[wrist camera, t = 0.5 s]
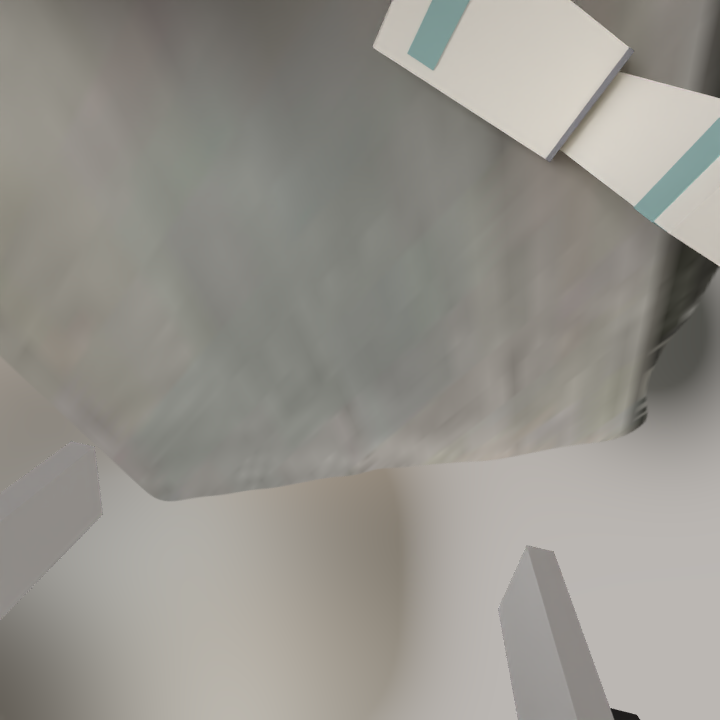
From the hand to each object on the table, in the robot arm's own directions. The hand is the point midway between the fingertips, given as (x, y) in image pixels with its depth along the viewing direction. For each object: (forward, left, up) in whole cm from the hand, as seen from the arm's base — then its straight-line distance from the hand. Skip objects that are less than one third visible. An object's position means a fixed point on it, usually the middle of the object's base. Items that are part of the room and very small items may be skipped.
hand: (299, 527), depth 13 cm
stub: (-1, +18, -23) cm, 29 cm away
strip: (-7, +12, -23) cm, 26 cm away
